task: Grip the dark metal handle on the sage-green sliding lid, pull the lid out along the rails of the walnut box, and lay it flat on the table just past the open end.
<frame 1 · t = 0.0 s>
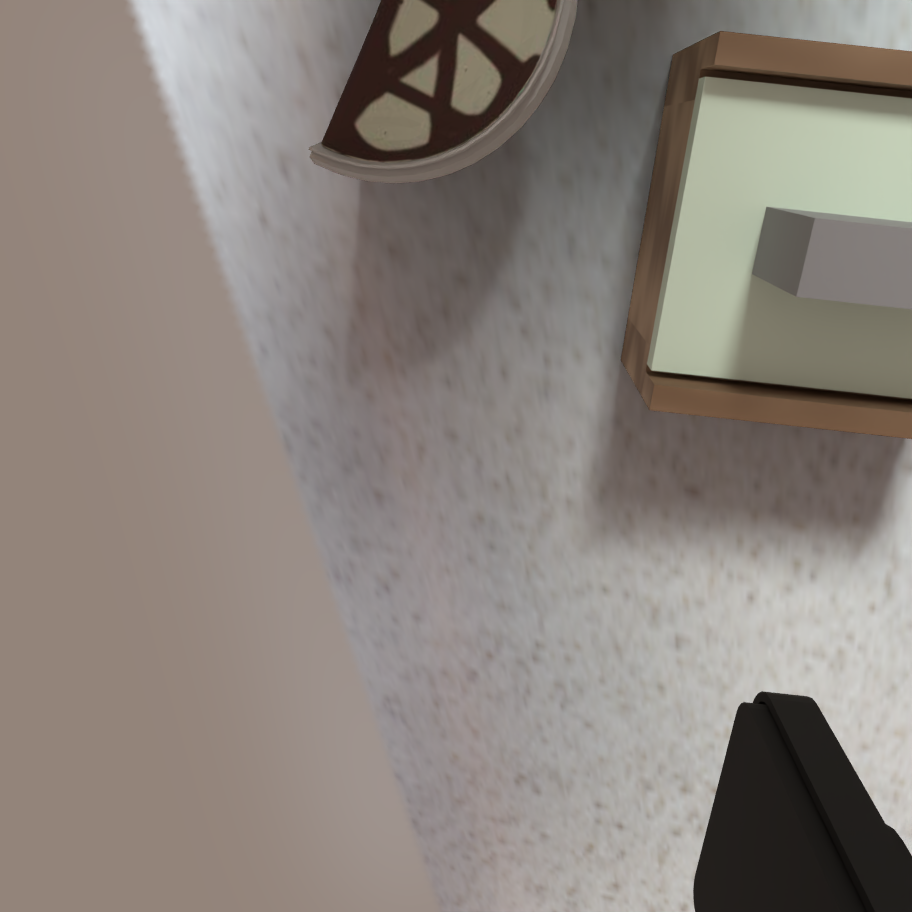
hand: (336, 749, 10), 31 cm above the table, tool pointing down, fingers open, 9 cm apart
food container: (478, 56, 36), on the table
walnut box: (803, 233, 38), on the table
cover plate: (857, 249, 32), point 6 cm above the table, touching walnut box
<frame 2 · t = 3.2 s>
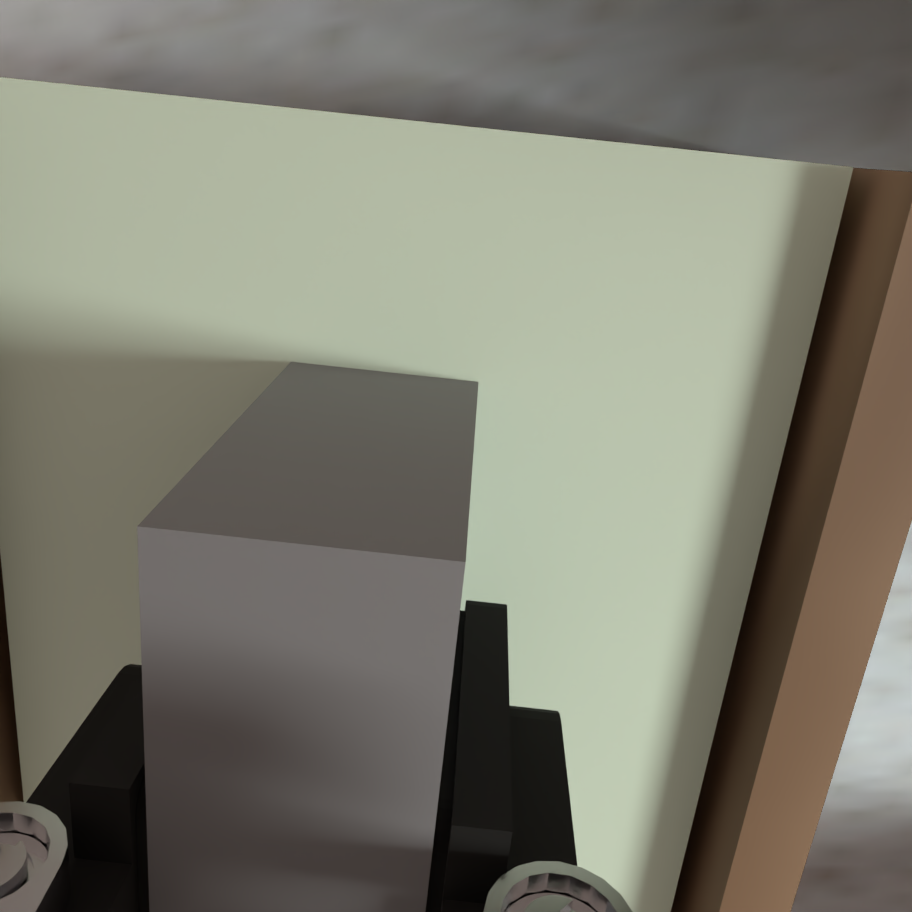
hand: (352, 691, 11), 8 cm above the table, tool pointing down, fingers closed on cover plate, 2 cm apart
walnut box: (410, 468, 19), on the table
cover plate: (374, 606, 13), point 6 cm above the table, touching gripper
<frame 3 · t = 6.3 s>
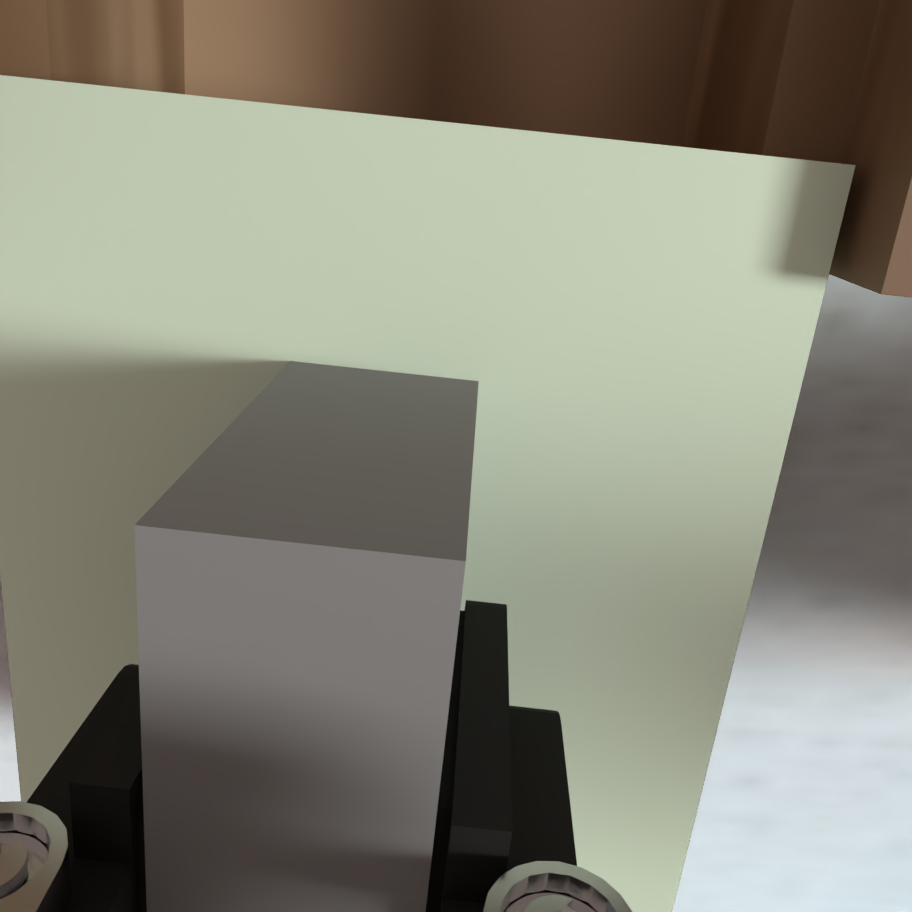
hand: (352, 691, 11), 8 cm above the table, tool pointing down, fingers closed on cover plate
cover plate: (373, 607, 13), point 6 cm above the table, touching gripper
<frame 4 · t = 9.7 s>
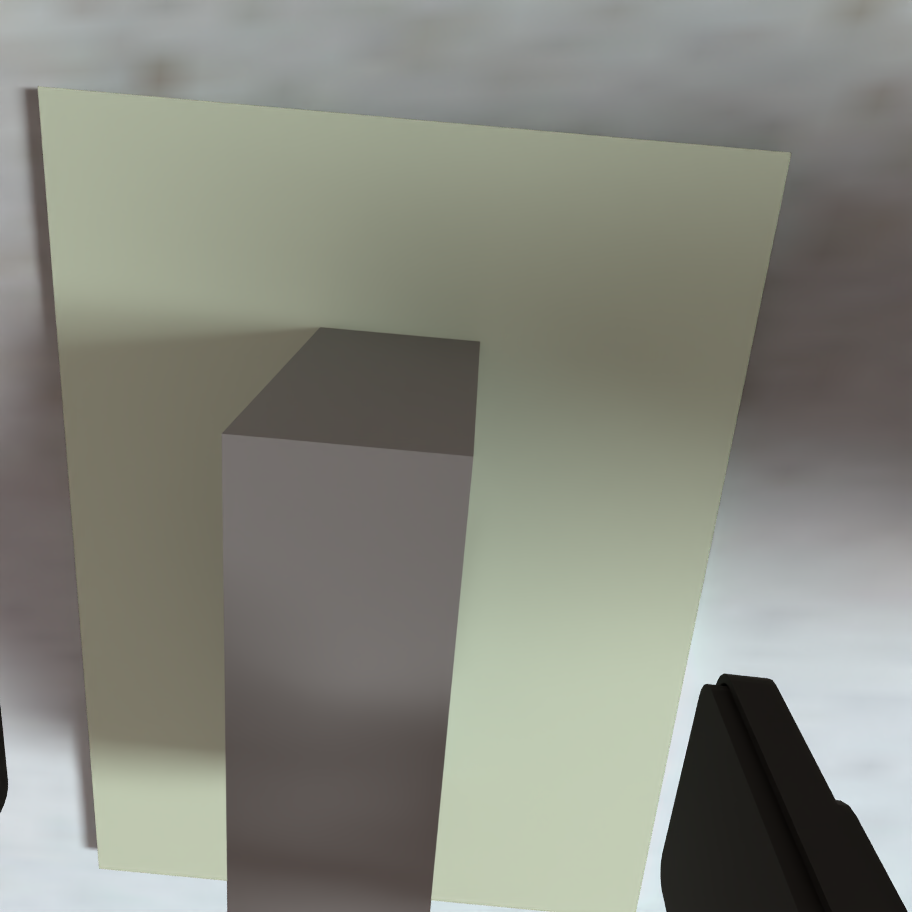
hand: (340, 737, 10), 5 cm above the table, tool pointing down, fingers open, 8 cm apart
cover plate: (392, 545, 15), on the table
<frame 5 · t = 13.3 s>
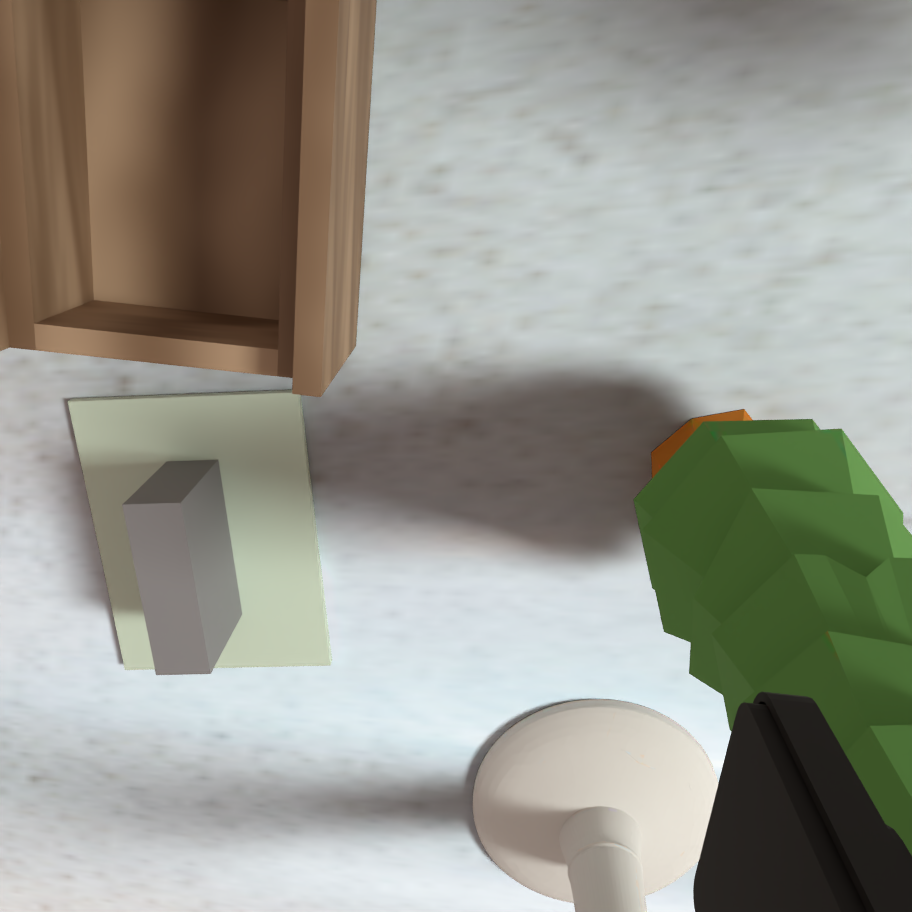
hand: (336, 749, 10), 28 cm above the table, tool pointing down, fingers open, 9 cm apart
walnut box: (207, 160, 35), on the table
cover plate: (212, 531, 41), on the table
candlestick: (594, 798, 45), on the table
decorative tree: (725, 471, 39), on the table
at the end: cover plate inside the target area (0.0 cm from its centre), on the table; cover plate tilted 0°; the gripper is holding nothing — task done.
